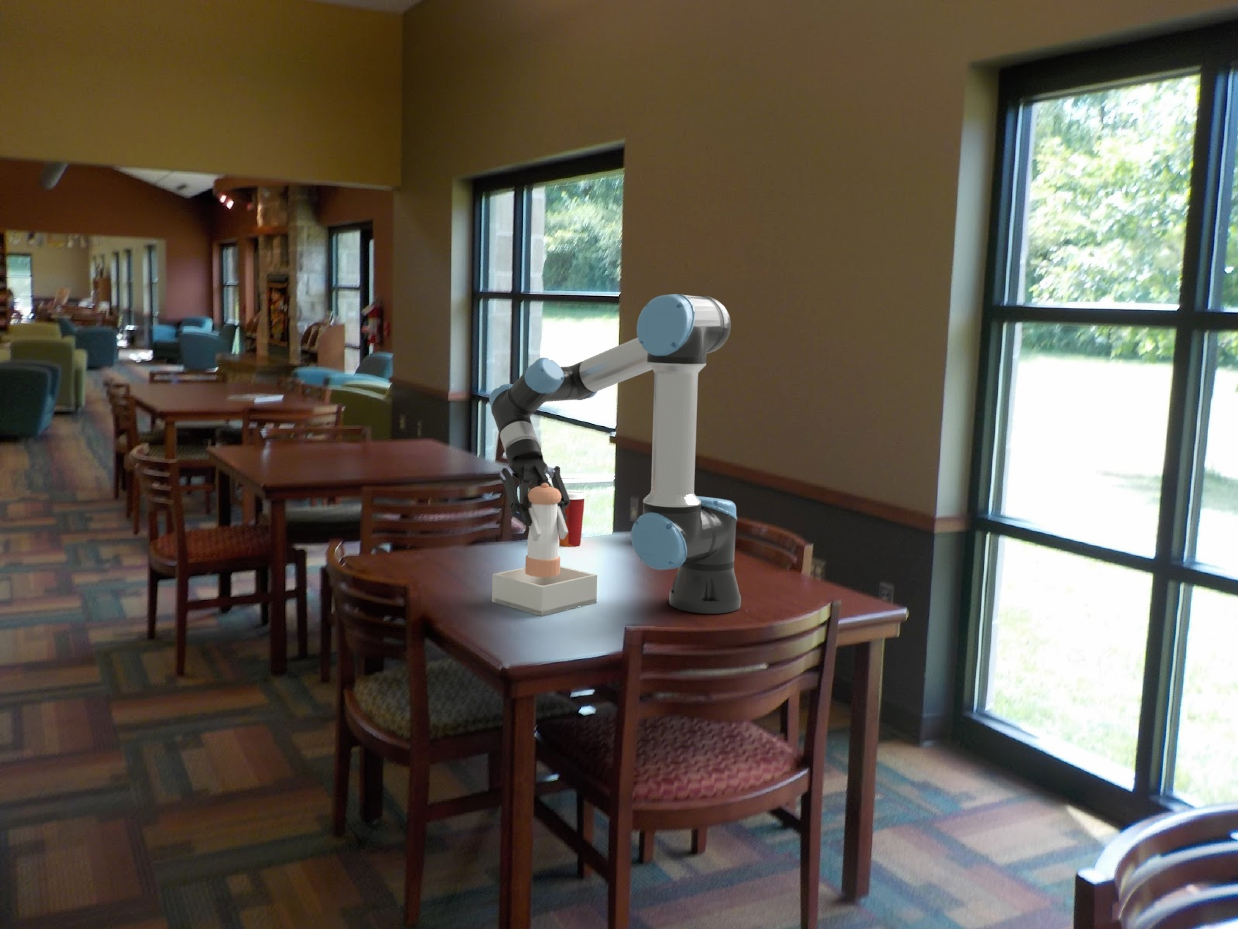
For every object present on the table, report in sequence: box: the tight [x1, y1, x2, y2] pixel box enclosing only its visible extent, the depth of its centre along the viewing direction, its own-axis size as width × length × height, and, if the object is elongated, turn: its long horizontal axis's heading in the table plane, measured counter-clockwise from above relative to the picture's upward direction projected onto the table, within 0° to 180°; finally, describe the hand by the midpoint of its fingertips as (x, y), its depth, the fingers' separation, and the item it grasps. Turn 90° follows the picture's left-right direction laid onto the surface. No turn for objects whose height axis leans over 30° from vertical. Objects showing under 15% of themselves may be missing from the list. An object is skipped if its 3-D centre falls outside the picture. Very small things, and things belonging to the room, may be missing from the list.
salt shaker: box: [524, 483, 562, 577], centre depth 237 cm, size 7×7×19 cm
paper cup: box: [558, 489, 586, 548], centre depth 297 cm, size 8×8×14 cm
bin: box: [491, 565, 598, 617], centre depth 238 cm, size 15×16×6 cm
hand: (551, 536), depth 234 cm, fingers closed on salt shaker, 5 cm apart
